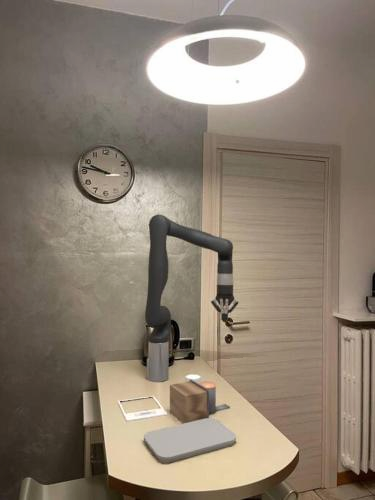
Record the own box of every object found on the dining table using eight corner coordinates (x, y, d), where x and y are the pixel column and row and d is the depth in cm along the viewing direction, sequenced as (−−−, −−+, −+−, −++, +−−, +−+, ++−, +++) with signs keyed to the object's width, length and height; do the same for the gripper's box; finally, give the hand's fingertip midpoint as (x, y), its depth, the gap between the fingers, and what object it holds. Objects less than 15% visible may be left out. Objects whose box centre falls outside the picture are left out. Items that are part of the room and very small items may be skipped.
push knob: (209, 404, 140) (209, 380, 140) (218, 410, 134) (218, 385, 135) (196, 408, 137) (196, 383, 137) (204, 414, 132) (204, 388, 132)
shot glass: (181, 394, 152) (181, 377, 152) (189, 389, 158) (189, 372, 158) (197, 397, 148) (197, 380, 149) (204, 392, 155) (204, 375, 155)
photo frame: (126, 419, 127) (117, 400, 144) (126, 423, 127) (117, 403, 144) (167, 413, 133) (153, 395, 149) (167, 416, 133) (153, 398, 149)
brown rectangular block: (218, 400, 145) (218, 373, 146) (237, 412, 135) (237, 383, 135) (169, 412, 135) (169, 383, 135) (186, 426, 124) (186, 394, 124)
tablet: (140, 440, 116) (140, 433, 116) (212, 423, 127) (212, 416, 127) (161, 467, 101) (161, 459, 101) (240, 445, 113) (240, 437, 113)
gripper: (208, 283, 166) (208, 322, 166) (238, 284, 163) (238, 324, 163) (212, 282, 173) (212, 319, 173) (240, 283, 170) (240, 321, 170)
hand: (224, 321), depth 168 cm, fingers closed
